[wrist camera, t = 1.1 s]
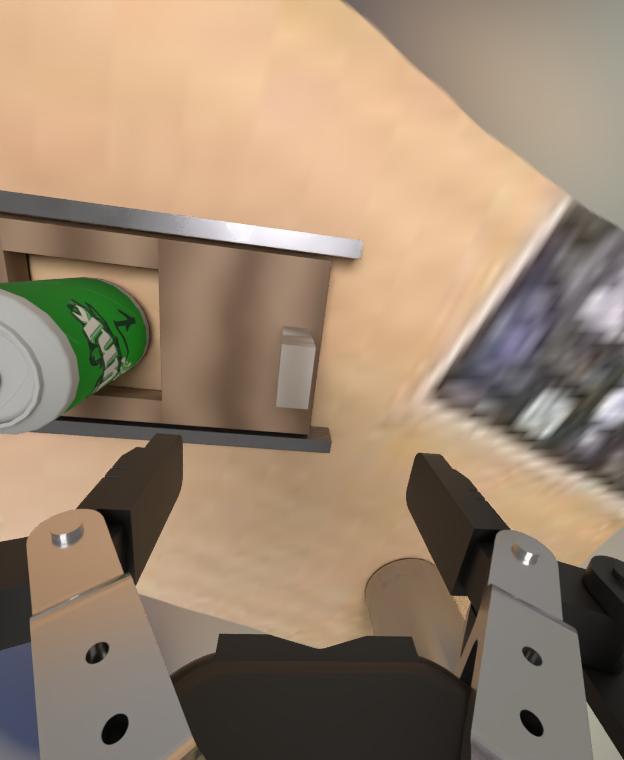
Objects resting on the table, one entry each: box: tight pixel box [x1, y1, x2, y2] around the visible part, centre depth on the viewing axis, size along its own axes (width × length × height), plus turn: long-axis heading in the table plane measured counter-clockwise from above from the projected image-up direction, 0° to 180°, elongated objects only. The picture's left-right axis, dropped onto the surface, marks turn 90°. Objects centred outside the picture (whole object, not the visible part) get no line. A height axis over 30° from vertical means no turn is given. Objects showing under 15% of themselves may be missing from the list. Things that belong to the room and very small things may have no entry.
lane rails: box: [0, 190, 363, 453], centre depth 25 cm, size 34×17×2 cm, turn 84°
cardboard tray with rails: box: [0, 218, 332, 435], centre depth 23 cm, size 25×14×8 cm, turn 84°
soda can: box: [0, 277, 150, 434], centre depth 21 cm, size 8×8×12 cm
